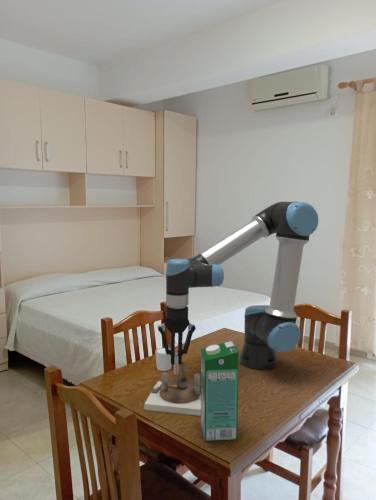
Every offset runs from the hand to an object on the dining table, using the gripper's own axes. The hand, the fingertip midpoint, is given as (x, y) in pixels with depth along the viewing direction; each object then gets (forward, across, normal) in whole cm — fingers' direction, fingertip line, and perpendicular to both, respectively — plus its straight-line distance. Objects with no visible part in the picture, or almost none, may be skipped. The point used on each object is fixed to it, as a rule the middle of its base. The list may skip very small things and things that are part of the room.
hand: (175, 373), depth 136 cm
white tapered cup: (+7, +3, -20) cm, 21 cm away
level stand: (+6, -1, +7) cm, 9 cm away
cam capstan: (+4, -1, +6) cm, 7 cm away
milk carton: (+6, -10, +26) cm, 28 cm away
